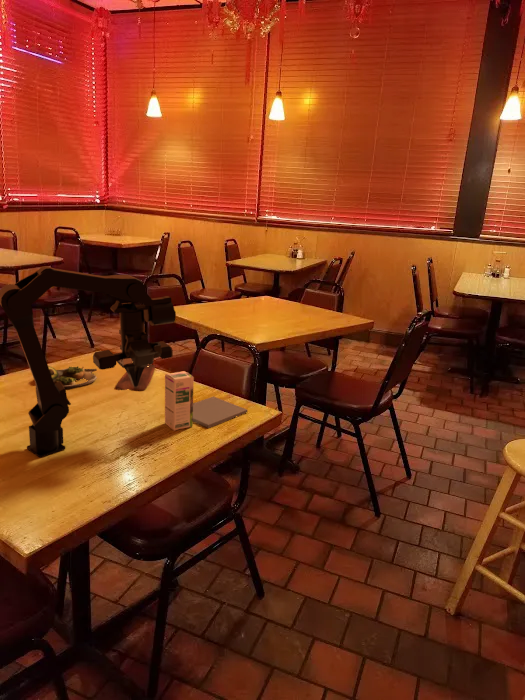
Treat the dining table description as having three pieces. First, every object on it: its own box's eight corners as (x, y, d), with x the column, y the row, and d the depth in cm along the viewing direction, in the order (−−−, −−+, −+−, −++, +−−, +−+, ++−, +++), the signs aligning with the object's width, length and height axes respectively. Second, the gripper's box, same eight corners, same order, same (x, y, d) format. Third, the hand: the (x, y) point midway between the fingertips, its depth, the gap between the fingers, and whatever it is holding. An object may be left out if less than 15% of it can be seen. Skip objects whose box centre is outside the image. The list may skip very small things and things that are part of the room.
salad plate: (86, 368, 180) (85, 355, 179) (110, 382, 168) (110, 368, 167) (29, 377, 167) (28, 364, 166) (52, 394, 155) (51, 379, 154)
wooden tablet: (131, 361, 186) (158, 360, 186) (132, 367, 187) (159, 365, 187) (113, 387, 161) (145, 385, 161) (114, 393, 161) (146, 391, 162)
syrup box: (173, 431, 135) (174, 379, 131) (164, 423, 140) (164, 372, 136) (192, 427, 138) (194, 376, 134) (182, 419, 143) (184, 369, 139)
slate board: (208, 428, 138) (208, 424, 138) (173, 412, 147) (174, 409, 146) (247, 412, 150) (247, 409, 150) (213, 399, 159) (213, 396, 158)
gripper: (104, 343, 113) (109, 406, 119) (181, 331, 123) (182, 390, 129) (90, 329, 122) (94, 389, 127) (163, 319, 132) (164, 375, 137)
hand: (135, 386), depth 130 cm, fingers closed
